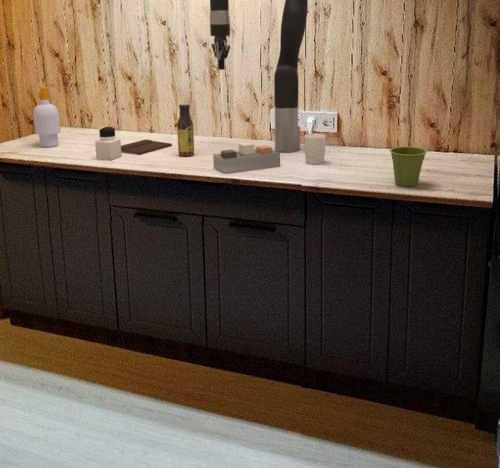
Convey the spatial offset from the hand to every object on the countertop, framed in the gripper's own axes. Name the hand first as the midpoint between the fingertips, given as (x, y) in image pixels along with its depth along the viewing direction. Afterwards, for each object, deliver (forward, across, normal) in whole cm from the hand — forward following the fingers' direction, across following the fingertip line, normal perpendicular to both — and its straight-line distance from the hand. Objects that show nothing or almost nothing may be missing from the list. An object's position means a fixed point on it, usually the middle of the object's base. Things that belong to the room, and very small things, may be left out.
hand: (221, 69), depth 283 cm
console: (+32, -30, +4) cm, 44 cm away
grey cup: (+32, -36, -21) cm, 53 cm away
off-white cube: (+27, -30, +4) cm, 41 cm away
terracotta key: (+29, -30, -3) cm, 42 cm away
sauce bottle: (+32, 0, +16) cm, 36 cm away
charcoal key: (+29, -30, +11) cm, 43 cm away
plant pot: (+32, -78, -31) cm, 90 cm away
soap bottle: (+32, +47, +60) cm, 83 cm away
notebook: (+33, +21, +27) cm, 48 cm away
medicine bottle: (+32, +11, +44) cm, 56 cm away
